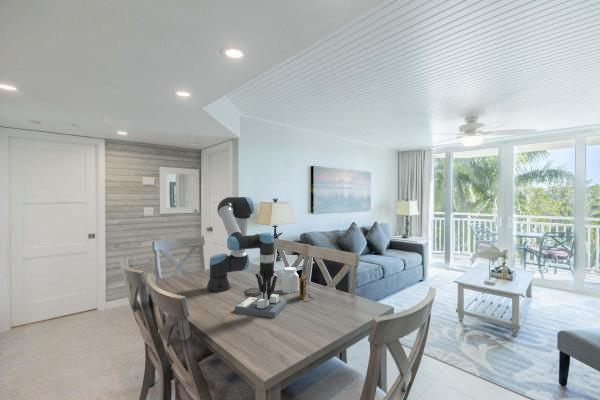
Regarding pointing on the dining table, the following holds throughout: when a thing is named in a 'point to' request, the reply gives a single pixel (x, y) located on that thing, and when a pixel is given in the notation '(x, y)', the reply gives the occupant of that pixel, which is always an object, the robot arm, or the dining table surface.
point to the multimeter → (303, 286)
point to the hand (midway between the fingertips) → (266, 304)
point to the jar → (290, 280)
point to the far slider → (274, 298)
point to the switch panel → (251, 308)
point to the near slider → (260, 303)
